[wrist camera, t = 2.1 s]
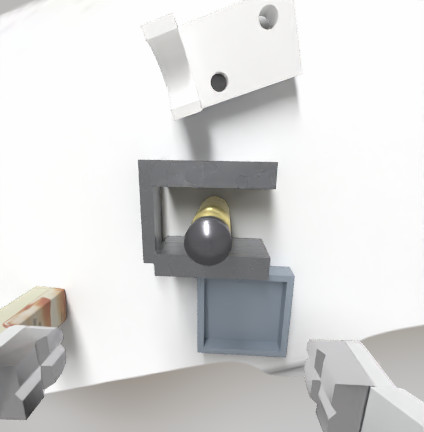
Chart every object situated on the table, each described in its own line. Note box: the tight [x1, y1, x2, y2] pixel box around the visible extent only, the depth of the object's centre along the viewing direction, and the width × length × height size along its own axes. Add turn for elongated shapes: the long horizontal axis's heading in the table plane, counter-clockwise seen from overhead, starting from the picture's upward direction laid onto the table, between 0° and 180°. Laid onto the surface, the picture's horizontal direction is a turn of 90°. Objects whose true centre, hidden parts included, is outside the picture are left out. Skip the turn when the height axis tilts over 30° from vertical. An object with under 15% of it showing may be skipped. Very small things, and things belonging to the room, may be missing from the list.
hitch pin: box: [184, 196, 232, 266], centre depth 23 cm, size 4×4×12 cm
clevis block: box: [138, 160, 278, 280], centre depth 26 cm, size 14×12×6 cm
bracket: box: [141, 0, 302, 120], centre depth 22 cm, size 13×7×8 cm, turn 107°
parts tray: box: [198, 266, 295, 357], centre depth 31 cm, size 12×12×2 cm
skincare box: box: [0, 286, 66, 333], centre depth 29 cm, size 5×4×10 cm
